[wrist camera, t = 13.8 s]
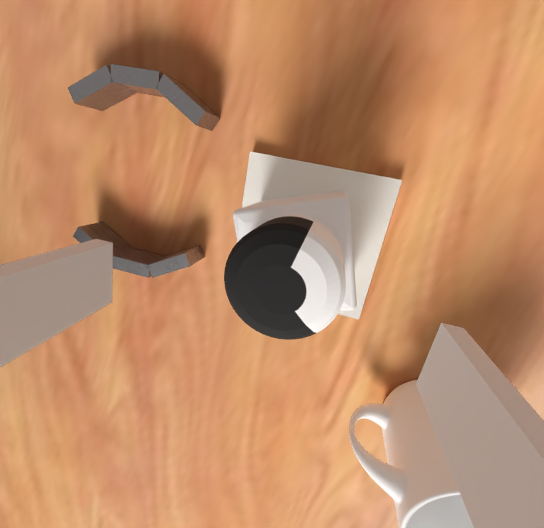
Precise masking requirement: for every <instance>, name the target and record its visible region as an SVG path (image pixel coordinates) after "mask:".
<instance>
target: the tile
mask: <svg viewBox="0 0 544 528" xmlns="http://www.w3.org/2000/svg"><path fill="white" fill-rule="evenodd" d="M401 182H402V180H399V179H394V178H389V177H383V176H378V175H373V174H367V173H362V172H357V171H351V170H346V169H341V168H335V167H330V166H325V165H320V164H314V163H309V162H304V161H298V160H293V159H288V158H282V157H277V156H272V155H266V154H261V153H256V152H250V156H249V162H248V169H247V176H246V183H245V190H244V196H243V203H242V208H243V207H246V206H249V205H252V204H255V203H258V202H261V201H266V200H274V199H281V198H289V197H296V196H304V195H311V194H319V193H326V192H334V191H345V192H346V194H347V196H348V198H349V201H350V214H351V228H352V242H353V256H354V270H355V284H356V298H357V306H356V308H355V309H354V310H350V311H339V312H338V314H340V315H344V316H347V317H351V318H355V319H359V317H360V314H361V311H362V308H363V304H364V301H365V298H366V295H367V292H368V288H369V285H370V282H371V279H372V275H373V272H374V269H375V266H376V263H377V259H378V256H379V253H380V250H381V247H382V243H383V240H384V237H385V234H386V231H387V227H388V224H389V221H390V218H391V214H392V211H393V208H394V205H395V202H396V198H397V195H398V192H399V189H400V186H401Z"/></svg>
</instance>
